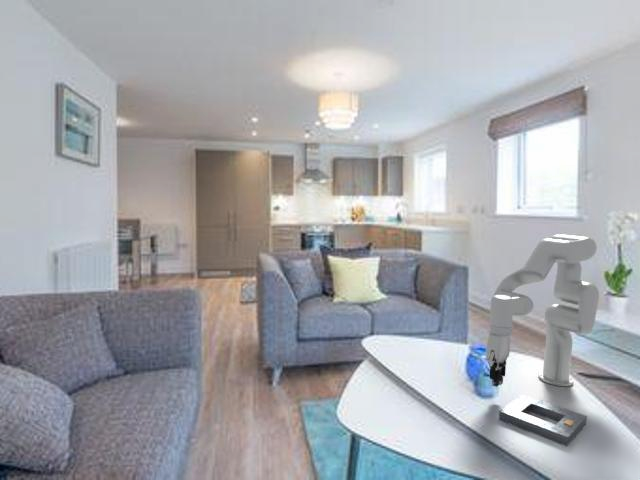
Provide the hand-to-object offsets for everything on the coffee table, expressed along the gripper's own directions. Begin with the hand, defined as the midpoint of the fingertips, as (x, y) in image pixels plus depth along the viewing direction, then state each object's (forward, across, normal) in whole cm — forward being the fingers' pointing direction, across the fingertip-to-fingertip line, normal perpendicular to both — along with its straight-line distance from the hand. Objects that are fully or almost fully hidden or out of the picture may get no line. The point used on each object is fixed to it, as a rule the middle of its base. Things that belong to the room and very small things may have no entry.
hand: (497, 376), depth 161 cm
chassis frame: (+9, +4, +18) cm, 20 cm away
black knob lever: (+3, +1, 0) cm, 3 cm away
